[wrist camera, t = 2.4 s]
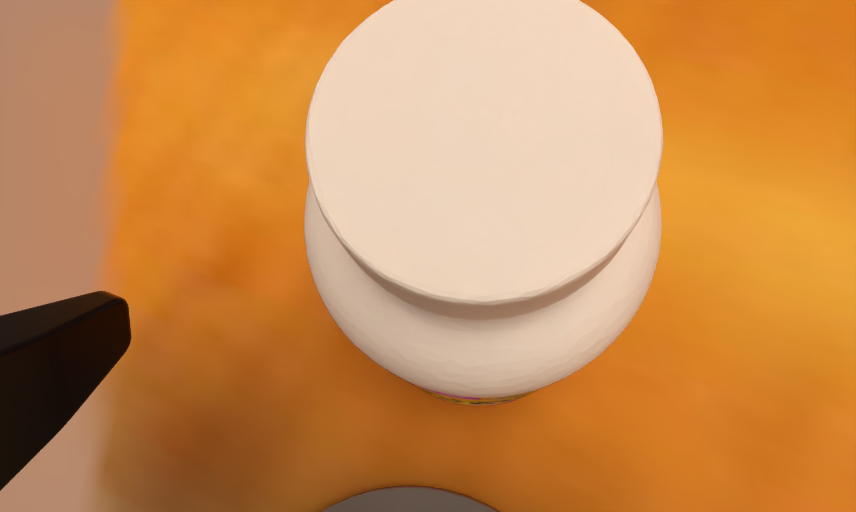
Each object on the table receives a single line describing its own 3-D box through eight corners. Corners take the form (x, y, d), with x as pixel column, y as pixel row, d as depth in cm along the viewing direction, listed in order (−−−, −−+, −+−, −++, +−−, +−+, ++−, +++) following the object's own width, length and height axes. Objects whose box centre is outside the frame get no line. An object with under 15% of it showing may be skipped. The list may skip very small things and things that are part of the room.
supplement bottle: (368, 396, 20) (175, 357, 7) (391, 206, 21) (266, -90, 9) (576, 417, 19) (757, 415, 6) (583, 218, 21) (737, -84, 8)
